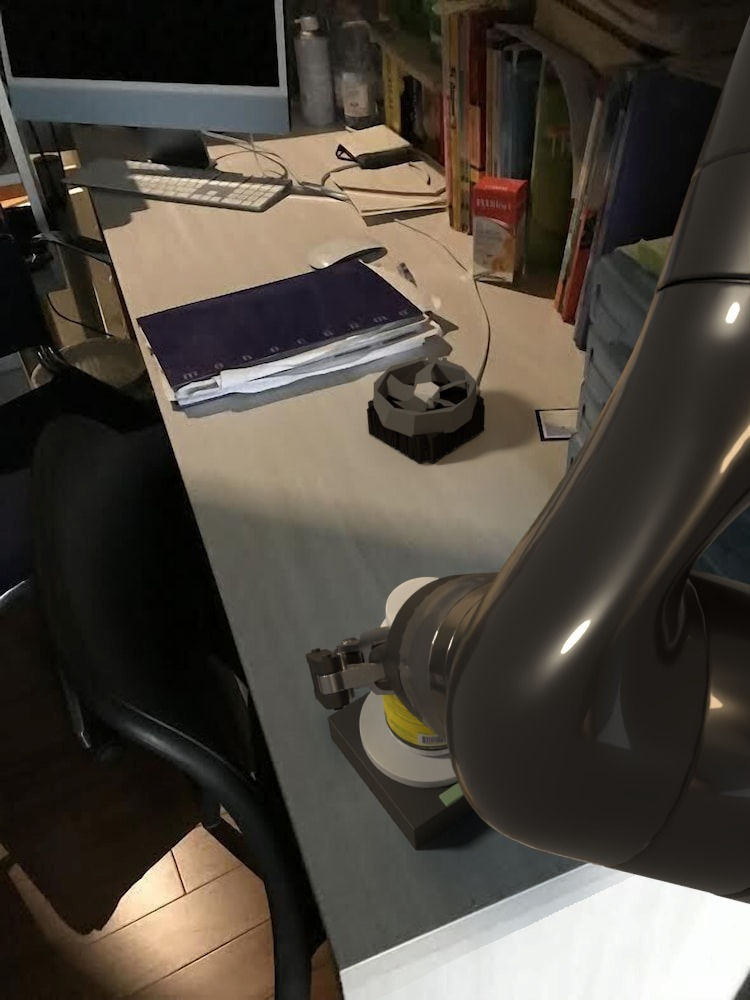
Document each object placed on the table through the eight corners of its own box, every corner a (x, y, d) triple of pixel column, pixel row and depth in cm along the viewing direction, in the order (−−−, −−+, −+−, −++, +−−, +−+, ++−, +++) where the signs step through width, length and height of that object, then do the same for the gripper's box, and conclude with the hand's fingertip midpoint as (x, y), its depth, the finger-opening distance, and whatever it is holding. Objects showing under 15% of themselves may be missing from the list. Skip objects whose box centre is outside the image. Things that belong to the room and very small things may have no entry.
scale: (536, 764, 56) (539, 736, 53) (415, 850, 52) (413, 823, 50) (444, 668, 62) (443, 639, 60) (330, 738, 58) (325, 710, 56)
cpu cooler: (423, 426, 76) (350, 385, 82) (425, 475, 80) (355, 433, 86) (499, 380, 81) (425, 345, 87) (497, 428, 85) (426, 391, 91)
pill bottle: (434, 665, 58) (429, 551, 51) (498, 720, 54) (503, 606, 47) (365, 715, 56) (350, 602, 48) (428, 778, 52) (422, 665, 45)
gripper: (618, 537, 37) (509, 553, 53) (304, 615, 35) (290, 607, 51) (662, 704, 36) (539, 669, 52) (346, 794, 34) (318, 729, 50)
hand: (416, 639), depth 52 cm, fingers open, 8 cm apart
